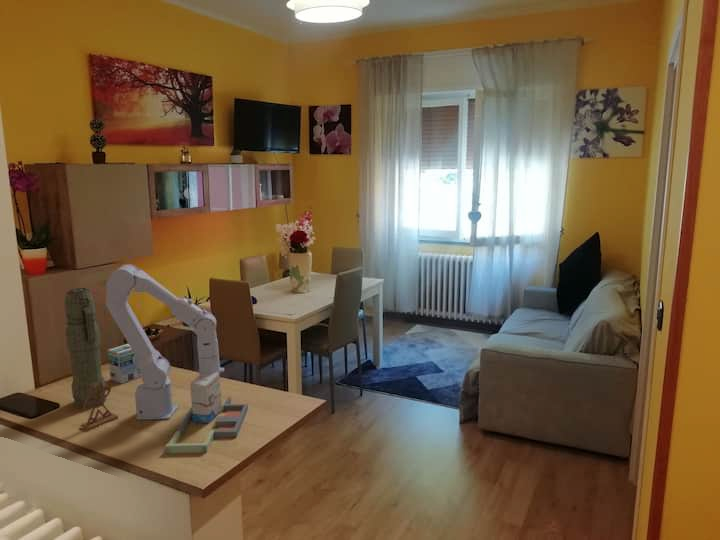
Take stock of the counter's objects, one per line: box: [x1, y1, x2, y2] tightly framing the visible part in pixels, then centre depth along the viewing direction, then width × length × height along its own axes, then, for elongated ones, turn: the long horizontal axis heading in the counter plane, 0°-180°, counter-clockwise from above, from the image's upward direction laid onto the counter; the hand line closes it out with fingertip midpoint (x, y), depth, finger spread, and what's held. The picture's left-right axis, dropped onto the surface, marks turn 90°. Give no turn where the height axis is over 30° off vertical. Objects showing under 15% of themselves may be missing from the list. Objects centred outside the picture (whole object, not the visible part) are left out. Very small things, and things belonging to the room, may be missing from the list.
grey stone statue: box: [64, 287, 107, 409], centre depth 159 cm, size 9×12×35 cm
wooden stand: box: [80, 382, 119, 431], centre depth 148 cm, size 9×4×12 cm, turn 148°
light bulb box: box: [107, 343, 142, 384], centre depth 181 cm, size 11×7×11 cm, turn 147°
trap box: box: [165, 396, 249, 454], centre depth 147 cm, size 16×30×2 cm, turn 2°
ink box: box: [189, 372, 223, 424], centre depth 151 cm, size 9×5×12 cm, turn 168°
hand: (212, 399), depth 157 cm, fingers closed, pressing on ink box
